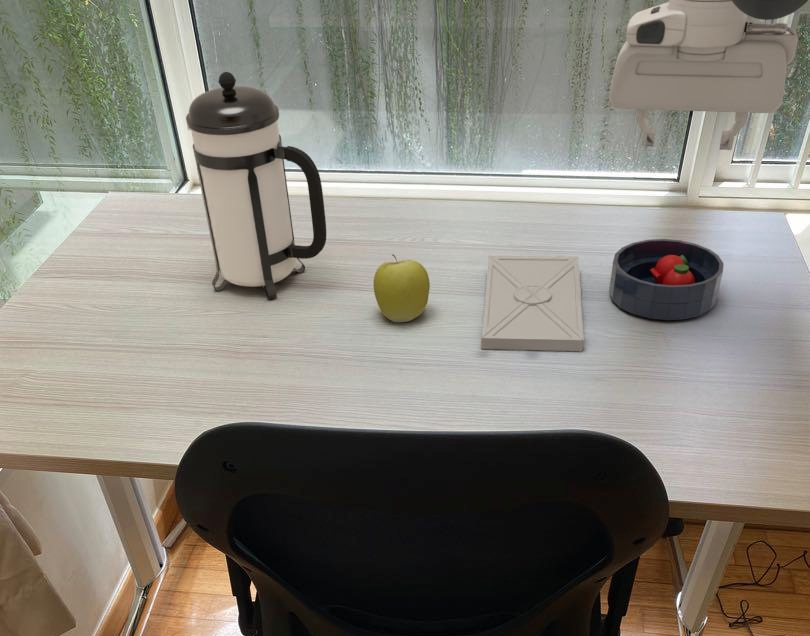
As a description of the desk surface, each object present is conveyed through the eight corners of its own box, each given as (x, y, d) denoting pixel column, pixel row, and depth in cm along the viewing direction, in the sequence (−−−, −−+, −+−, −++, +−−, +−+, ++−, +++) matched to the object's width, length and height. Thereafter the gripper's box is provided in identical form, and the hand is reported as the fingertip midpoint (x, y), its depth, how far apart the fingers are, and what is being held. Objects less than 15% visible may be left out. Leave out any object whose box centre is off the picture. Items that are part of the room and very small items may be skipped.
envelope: (481, 350, 120) (582, 352, 119) (481, 336, 119) (583, 338, 117) (488, 267, 137) (577, 268, 136) (488, 254, 136) (578, 255, 134)
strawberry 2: (653, 284, 132) (683, 265, 131) (666, 297, 129) (696, 278, 128) (644, 261, 130) (674, 242, 129) (657, 274, 126) (687, 255, 125)
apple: (431, 324, 123) (408, 258, 118) (380, 334, 127) (355, 271, 121) (443, 298, 129) (422, 234, 123) (394, 308, 132) (371, 246, 126)
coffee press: (222, 313, 130) (178, 97, 110) (205, 268, 142) (163, 65, 121) (334, 292, 134) (312, 79, 113) (309, 250, 145) (285, 49, 125)
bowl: (717, 278, 132) (724, 243, 128) (713, 328, 122) (721, 292, 118) (615, 269, 136) (620, 235, 132) (603, 317, 125) (607, 281, 121)
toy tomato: (692, 293, 128) (698, 261, 125) (690, 307, 125) (696, 275, 122) (661, 290, 129) (666, 258, 126) (659, 304, 126) (664, 272, 123)
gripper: (801, 16, 100) (773, 141, 110) (620, 14, 105) (608, 134, 115) (802, 30, 96) (773, 159, 105) (614, 28, 101) (602, 151, 110)
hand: (686, 146), depth 110 cm, fingers open, 8 cm apart
